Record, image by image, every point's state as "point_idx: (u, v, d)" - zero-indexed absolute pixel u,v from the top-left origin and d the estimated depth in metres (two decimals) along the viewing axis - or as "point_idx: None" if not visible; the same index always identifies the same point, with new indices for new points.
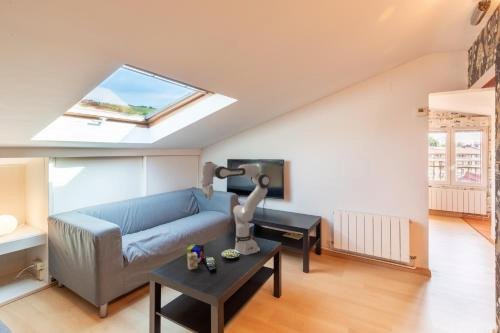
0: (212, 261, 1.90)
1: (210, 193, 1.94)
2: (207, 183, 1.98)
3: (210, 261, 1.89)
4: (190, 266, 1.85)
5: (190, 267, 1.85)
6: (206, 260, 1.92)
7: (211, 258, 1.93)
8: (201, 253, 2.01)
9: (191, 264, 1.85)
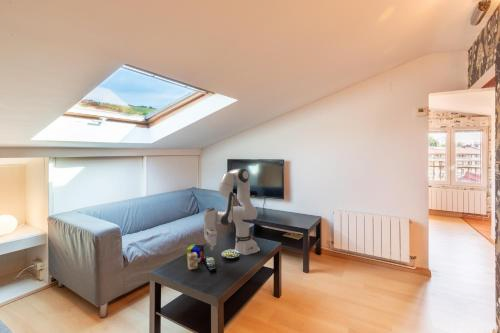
0: (212, 261, 1.90)
1: None
2: None
3: (210, 261, 1.89)
4: (190, 266, 1.85)
5: (190, 267, 1.85)
6: (206, 260, 1.92)
7: (211, 258, 1.93)
8: (201, 253, 2.01)
9: (191, 264, 1.85)
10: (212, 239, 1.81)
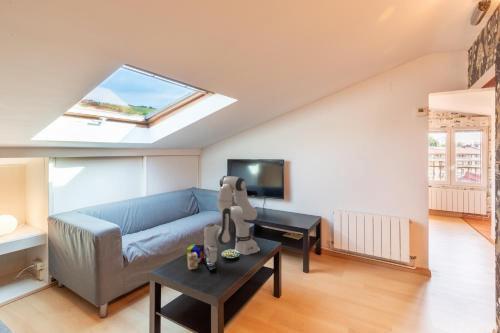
0: None
1: None
2: None
3: None
4: (190, 266, 1.85)
5: (190, 267, 1.85)
6: (206, 260, 1.92)
7: None
8: (201, 253, 2.01)
9: (191, 264, 1.85)
10: (212, 255, 1.82)
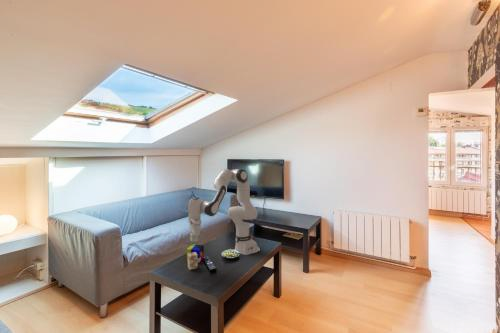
0: None
1: None
2: None
3: None
4: (190, 266, 1.85)
5: (190, 267, 1.85)
6: (190, 235, 1.88)
7: None
8: (201, 253, 2.01)
9: (191, 264, 1.85)
10: (196, 228, 1.78)
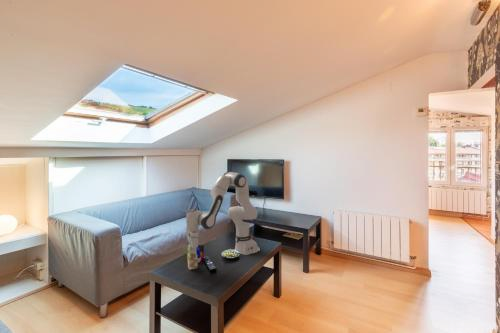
0: None
1: None
2: None
3: None
4: (190, 266, 1.85)
5: (190, 267, 1.85)
6: (188, 246, 1.88)
7: None
8: (201, 253, 2.01)
9: (191, 264, 1.85)
10: (194, 241, 1.78)
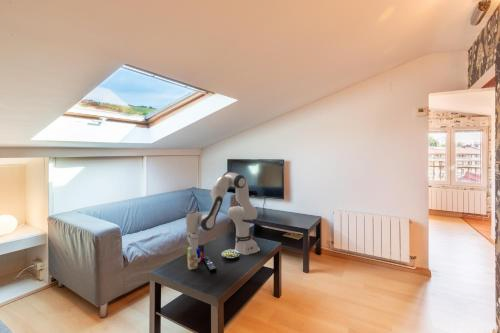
0: None
1: None
2: None
3: (192, 250, 1.85)
4: (190, 266, 1.85)
5: (190, 267, 1.85)
6: (188, 249, 1.88)
7: None
8: (201, 253, 2.01)
9: (191, 264, 1.85)
10: (194, 242, 1.78)
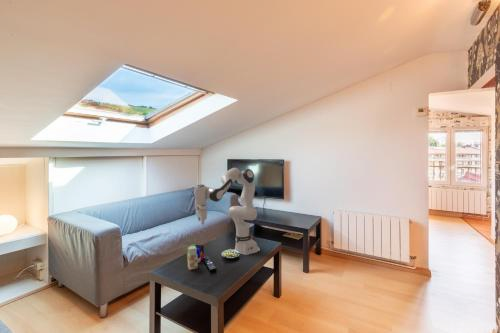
0: (194, 250, 1.86)
1: None
2: None
3: (192, 250, 1.85)
4: (190, 266, 1.85)
5: (190, 267, 1.85)
6: (188, 249, 1.88)
7: (193, 247, 1.88)
8: (201, 253, 2.01)
9: (191, 264, 1.85)
10: (203, 213, 1.91)
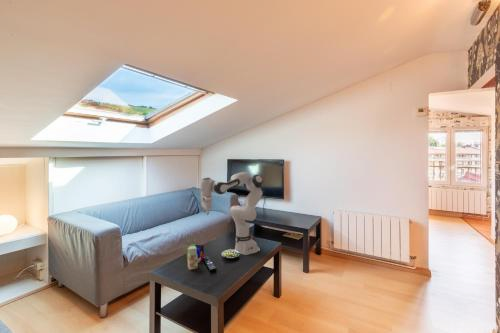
0: (194, 250, 1.86)
1: None
2: None
3: (192, 250, 1.85)
4: (190, 266, 1.85)
5: (190, 267, 1.85)
6: (188, 249, 1.88)
7: (193, 247, 1.88)
8: (201, 253, 2.01)
9: (191, 264, 1.85)
10: (208, 204, 2.02)
